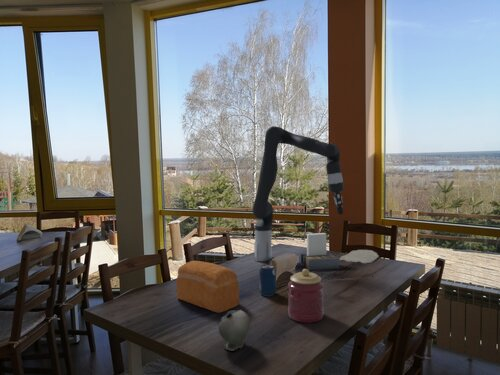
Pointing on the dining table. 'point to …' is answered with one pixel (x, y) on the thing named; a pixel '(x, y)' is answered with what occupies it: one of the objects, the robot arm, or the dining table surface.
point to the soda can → (267, 280)
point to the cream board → (316, 244)
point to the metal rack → (320, 262)
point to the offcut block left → (311, 259)
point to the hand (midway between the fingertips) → (340, 213)
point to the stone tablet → (360, 256)
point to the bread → (208, 286)
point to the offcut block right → (327, 257)
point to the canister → (305, 297)
